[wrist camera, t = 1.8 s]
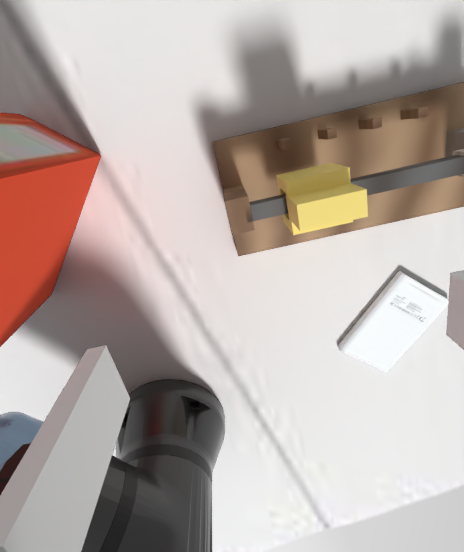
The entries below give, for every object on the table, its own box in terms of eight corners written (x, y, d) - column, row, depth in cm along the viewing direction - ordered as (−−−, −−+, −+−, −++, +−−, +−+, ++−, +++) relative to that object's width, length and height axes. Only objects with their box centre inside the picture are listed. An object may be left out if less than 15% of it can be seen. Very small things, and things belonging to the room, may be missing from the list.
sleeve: (283, 221, 31) (302, 246, 24) (276, 175, 29) (294, 188, 23) (335, 210, 31) (368, 232, 24) (331, 162, 29) (365, 171, 22)
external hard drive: (335, 343, 44) (396, 268, 40) (381, 365, 46) (444, 296, 42) (339, 350, 42) (403, 273, 38) (387, 373, 44) (453, 302, 40)
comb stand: (237, 252, 37) (243, 286, 29) (212, 141, 32) (211, 145, 24) (457, 203, 36) (528, 225, 28) (465, 81, 31) (554, 64, 23)
